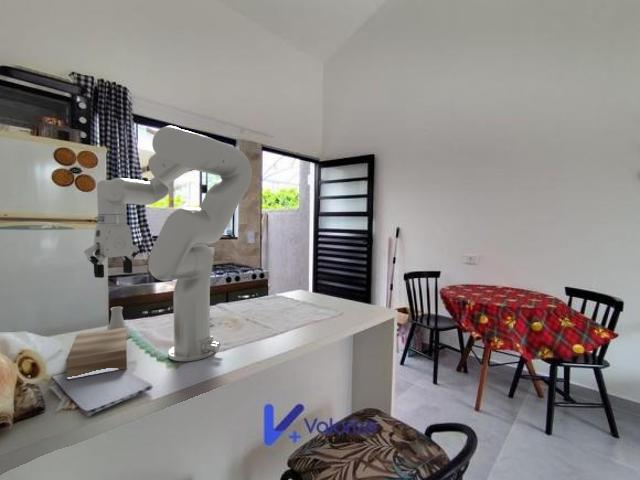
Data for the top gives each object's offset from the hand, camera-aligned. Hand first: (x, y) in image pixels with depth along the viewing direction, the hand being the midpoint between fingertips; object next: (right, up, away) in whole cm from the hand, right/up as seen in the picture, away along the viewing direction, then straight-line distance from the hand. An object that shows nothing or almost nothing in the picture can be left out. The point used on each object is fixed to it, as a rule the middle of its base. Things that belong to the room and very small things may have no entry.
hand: (114, 275), depth 101 cm
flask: (0, -21, +1) cm, 21 cm away
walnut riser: (+6, -21, -15) cm, 26 cm away
